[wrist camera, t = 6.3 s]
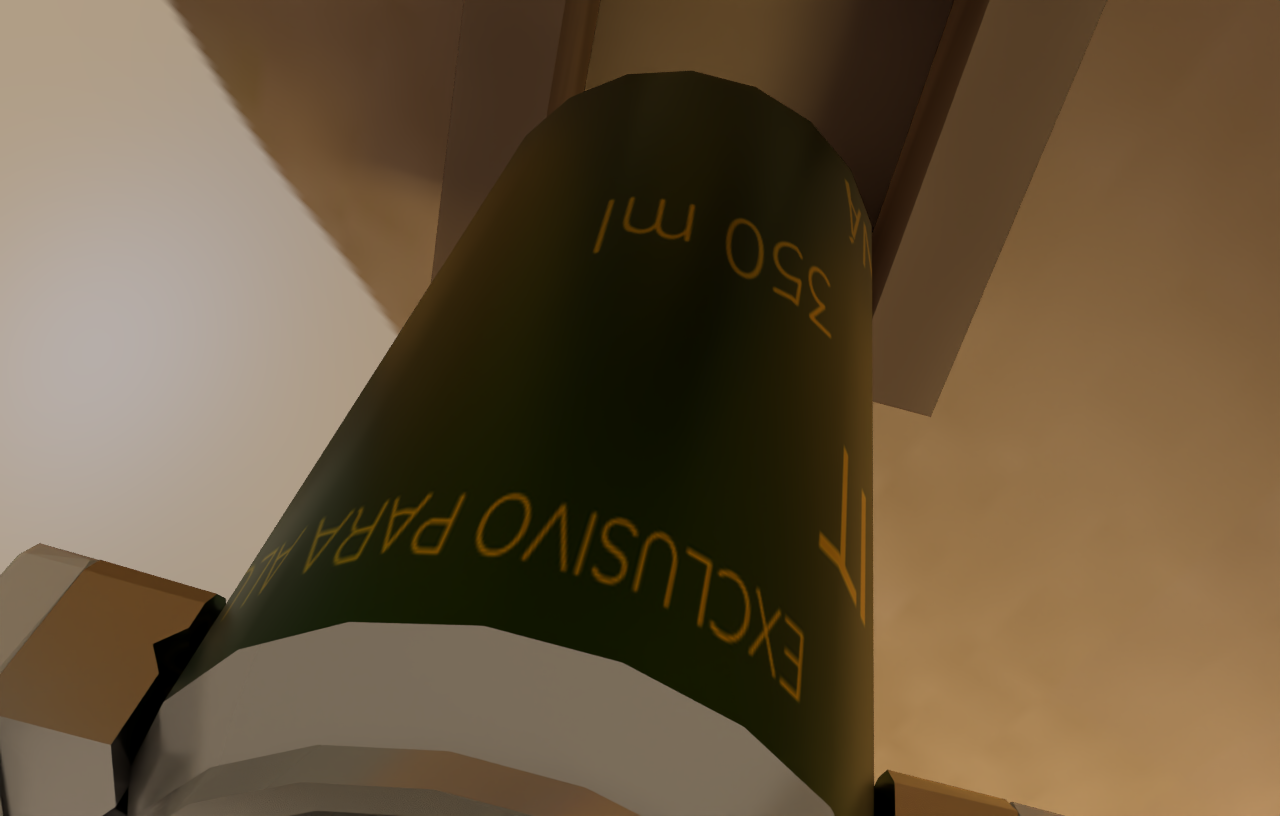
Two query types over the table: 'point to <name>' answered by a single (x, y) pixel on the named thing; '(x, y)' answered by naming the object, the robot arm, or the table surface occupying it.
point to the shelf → (917, 195)
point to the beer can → (580, 506)
